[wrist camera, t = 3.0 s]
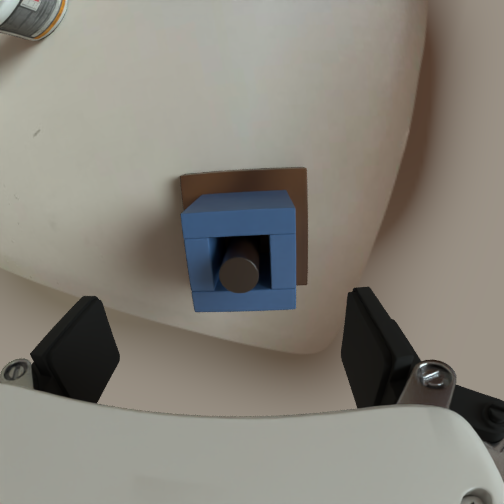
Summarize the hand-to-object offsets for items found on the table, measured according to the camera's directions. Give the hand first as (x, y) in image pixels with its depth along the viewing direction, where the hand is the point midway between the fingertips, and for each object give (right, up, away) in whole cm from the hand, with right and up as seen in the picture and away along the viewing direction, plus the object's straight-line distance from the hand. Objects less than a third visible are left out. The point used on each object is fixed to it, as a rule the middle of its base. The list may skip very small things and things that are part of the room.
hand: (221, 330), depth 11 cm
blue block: (+1, +4, +11) cm, 12 cm away
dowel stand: (+1, +5, +13) cm, 13 cm away
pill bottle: (-19, +26, +6) cm, 32 cm away
